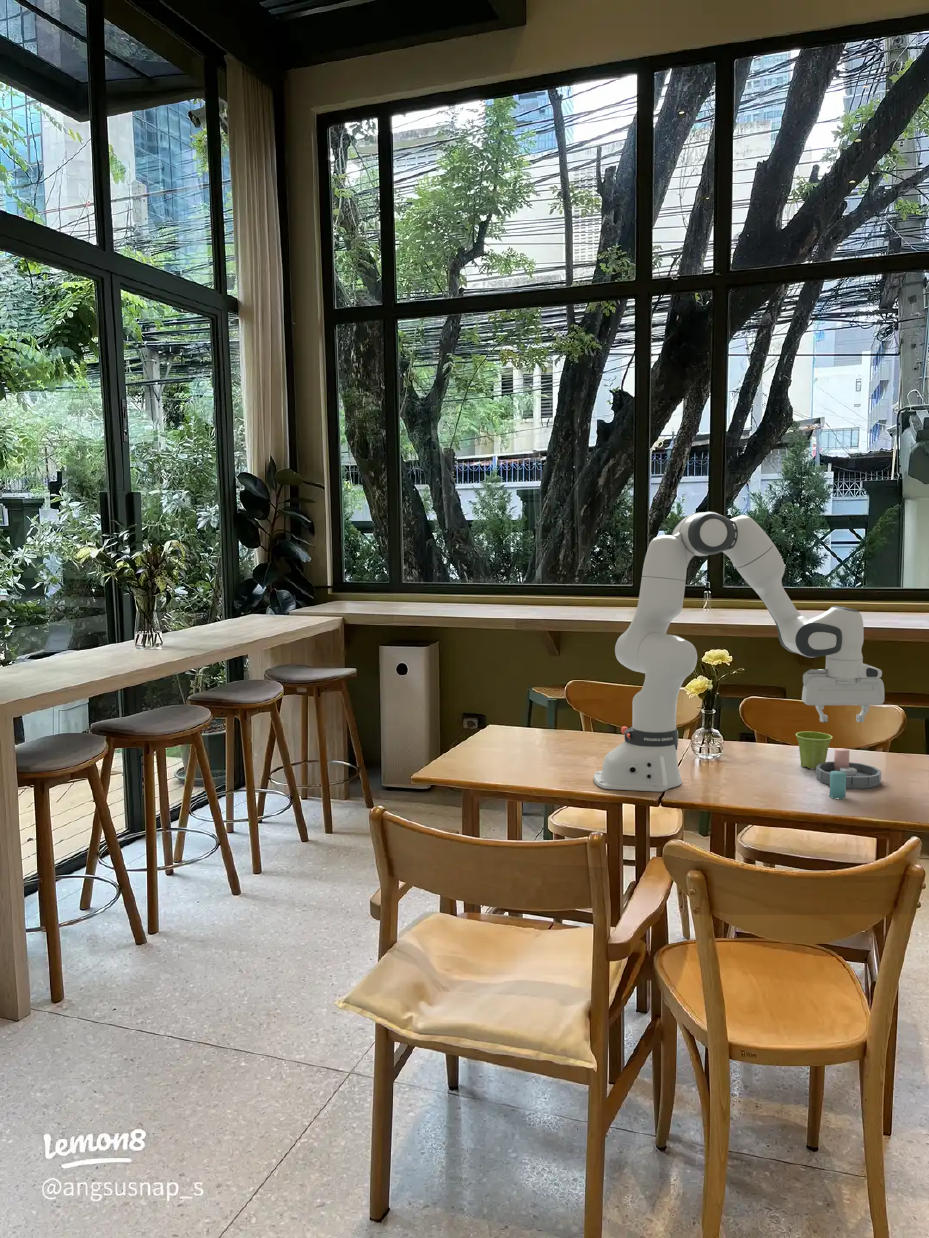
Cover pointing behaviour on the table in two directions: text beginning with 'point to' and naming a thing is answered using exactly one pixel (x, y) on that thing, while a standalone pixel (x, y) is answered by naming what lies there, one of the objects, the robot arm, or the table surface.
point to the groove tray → (851, 782)
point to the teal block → (837, 784)
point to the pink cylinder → (841, 758)
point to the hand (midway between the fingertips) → (841, 721)
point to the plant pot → (813, 748)
